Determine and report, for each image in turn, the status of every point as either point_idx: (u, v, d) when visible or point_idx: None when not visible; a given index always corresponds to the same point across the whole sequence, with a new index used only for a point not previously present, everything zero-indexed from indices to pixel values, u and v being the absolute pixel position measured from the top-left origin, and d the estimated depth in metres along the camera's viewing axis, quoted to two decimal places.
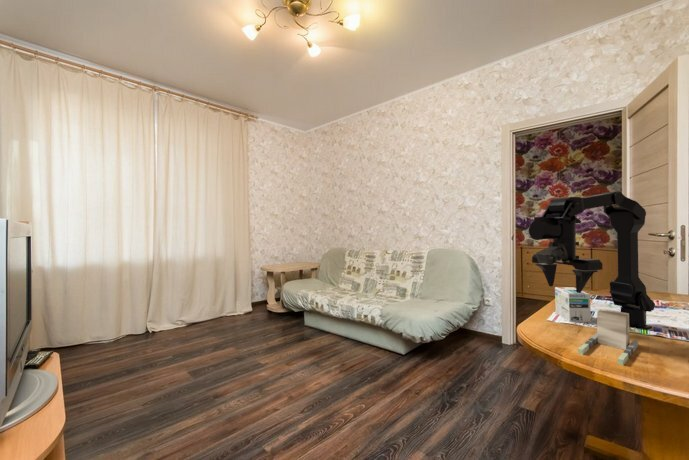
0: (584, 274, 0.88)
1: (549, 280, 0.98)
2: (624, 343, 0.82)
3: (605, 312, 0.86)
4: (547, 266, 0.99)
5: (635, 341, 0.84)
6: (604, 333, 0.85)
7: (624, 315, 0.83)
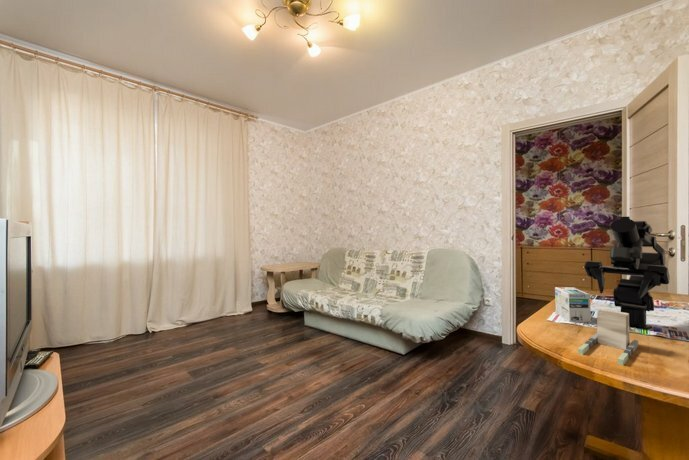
0: None
1: (601, 286, 0.95)
2: (624, 343, 0.82)
3: (605, 312, 0.86)
4: (602, 273, 0.97)
5: (635, 341, 0.84)
6: (604, 333, 0.85)
7: (624, 315, 0.83)
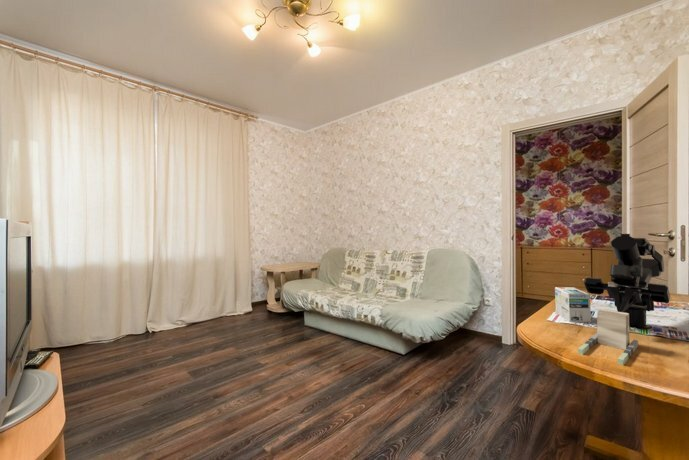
0: None
1: (619, 306, 0.91)
2: (624, 343, 0.82)
3: (605, 312, 0.86)
4: (619, 293, 0.93)
5: (635, 341, 0.84)
6: (604, 333, 0.85)
7: (624, 315, 0.83)
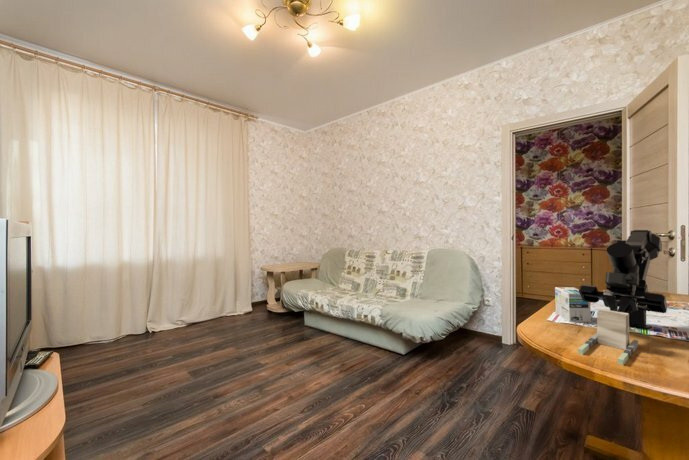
0: None
1: None
2: (624, 343, 0.82)
3: (605, 312, 0.86)
4: (615, 301, 0.90)
5: (635, 341, 0.84)
6: (604, 333, 0.85)
7: (624, 315, 0.83)
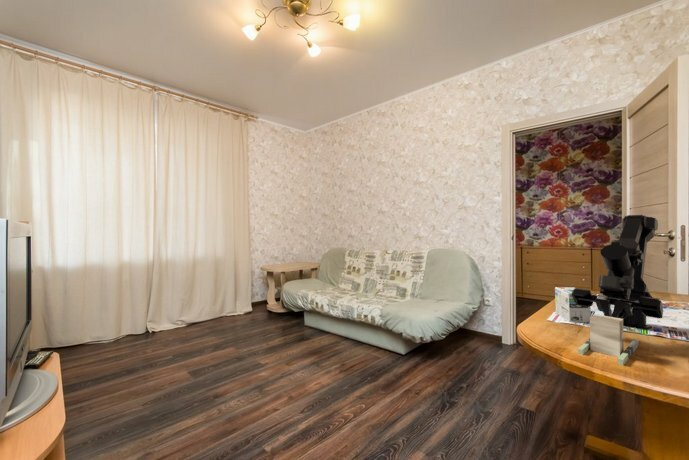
0: None
1: None
2: (618, 350, 0.78)
3: (598, 317, 0.82)
4: (609, 306, 0.86)
5: (635, 341, 0.84)
6: (597, 340, 0.81)
7: (618, 321, 0.79)
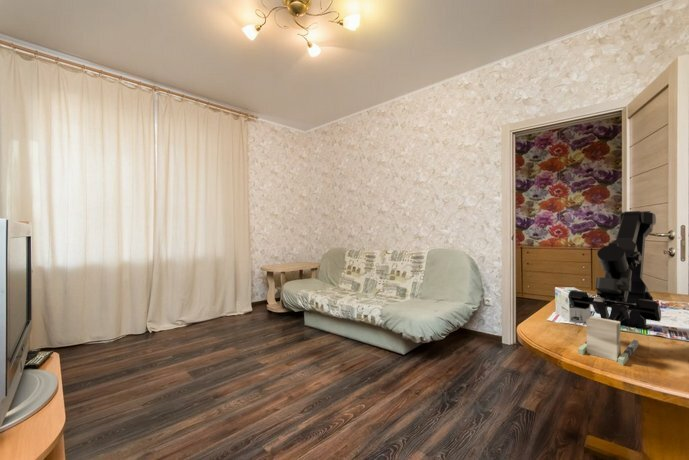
0: (616, 315, 0.83)
1: None
2: (615, 354, 0.77)
3: (595, 320, 0.80)
4: (606, 308, 0.84)
5: (635, 341, 0.84)
6: (594, 343, 0.80)
7: (615, 324, 0.77)
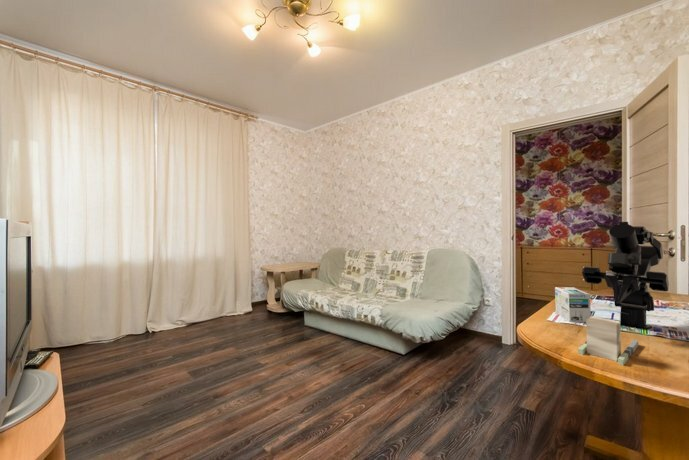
0: (627, 287, 0.90)
1: (618, 294, 0.89)
2: (615, 354, 0.77)
3: (595, 320, 0.80)
4: (617, 281, 0.91)
5: (635, 341, 0.84)
6: (594, 343, 0.80)
7: (615, 324, 0.77)
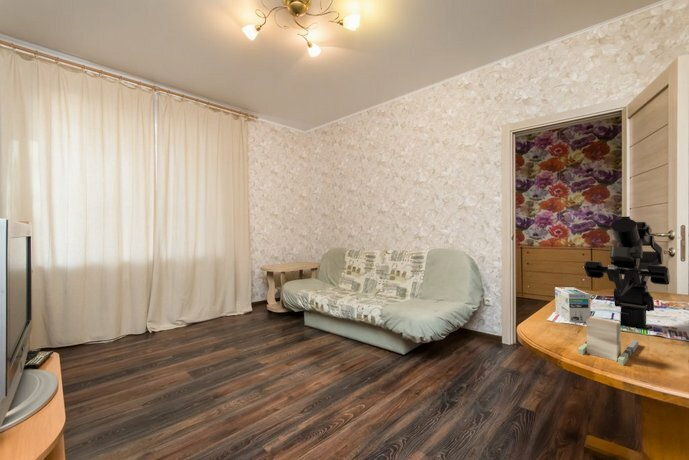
0: (629, 281, 0.91)
1: (619, 288, 0.90)
2: (615, 354, 0.77)
3: (595, 320, 0.80)
4: (619, 275, 0.93)
5: (635, 341, 0.84)
6: (594, 343, 0.80)
7: (615, 324, 0.77)
